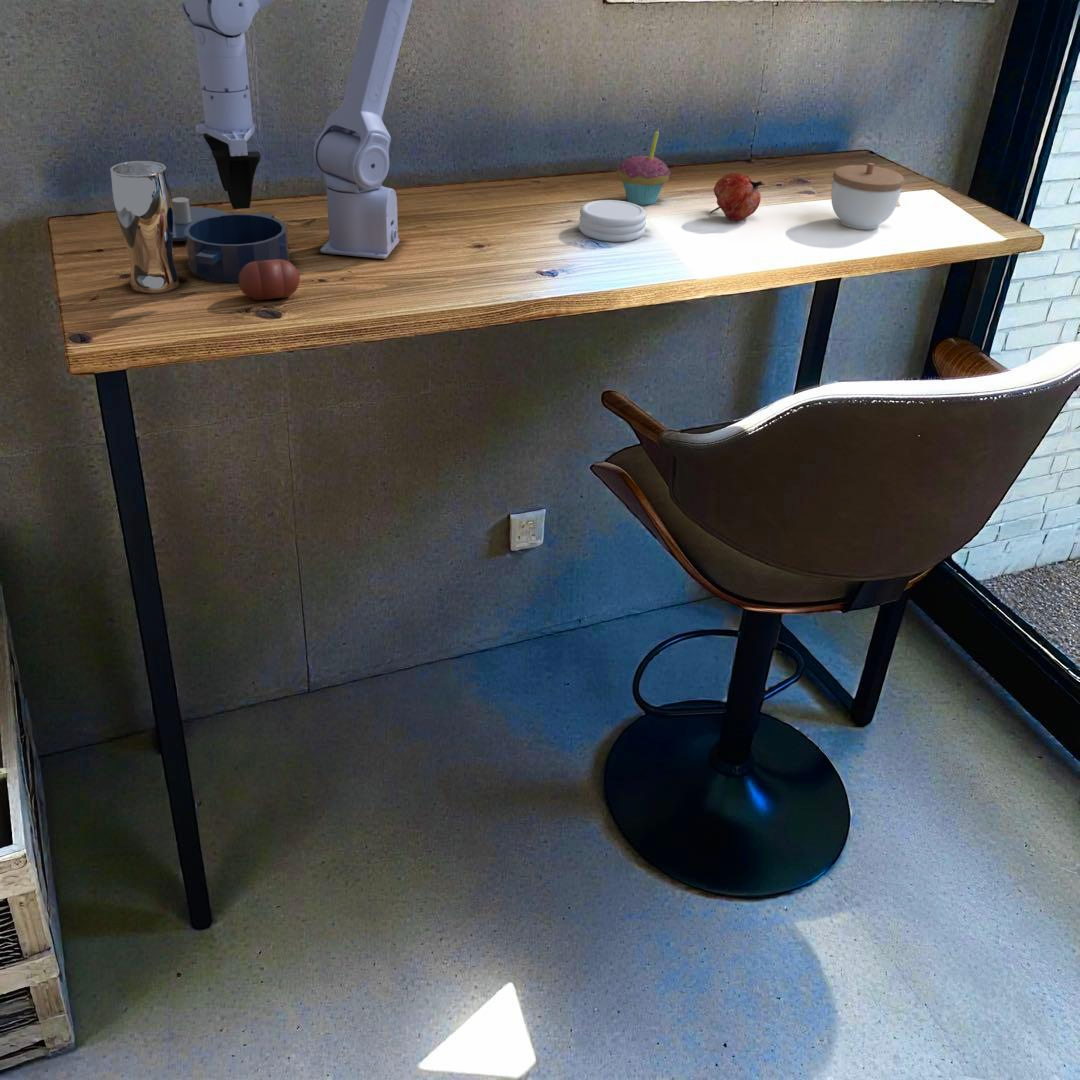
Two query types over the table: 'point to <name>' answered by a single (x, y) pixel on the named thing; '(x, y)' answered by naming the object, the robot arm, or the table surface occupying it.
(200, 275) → the pan
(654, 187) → the cupcake
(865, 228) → the lidded sugar bowl
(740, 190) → the pomegranate
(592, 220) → the coaster
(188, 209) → the pan lid
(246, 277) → the red ribbed oval
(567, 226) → the table surface
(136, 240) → the beer glass
